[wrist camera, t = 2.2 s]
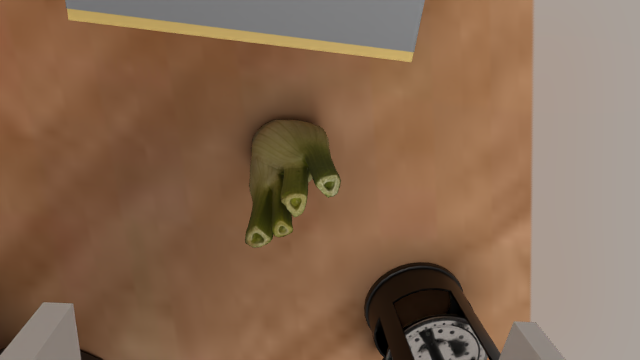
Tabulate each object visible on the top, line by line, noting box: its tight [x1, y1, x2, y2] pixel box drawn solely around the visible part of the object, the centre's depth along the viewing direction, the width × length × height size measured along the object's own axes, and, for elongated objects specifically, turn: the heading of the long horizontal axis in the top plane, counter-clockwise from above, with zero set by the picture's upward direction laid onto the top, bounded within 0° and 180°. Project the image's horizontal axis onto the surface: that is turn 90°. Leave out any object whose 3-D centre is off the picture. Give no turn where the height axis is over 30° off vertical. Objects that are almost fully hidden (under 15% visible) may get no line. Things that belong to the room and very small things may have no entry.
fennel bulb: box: [245, 119, 341, 248], centre depth 25 cm, size 6×5×12 cm
